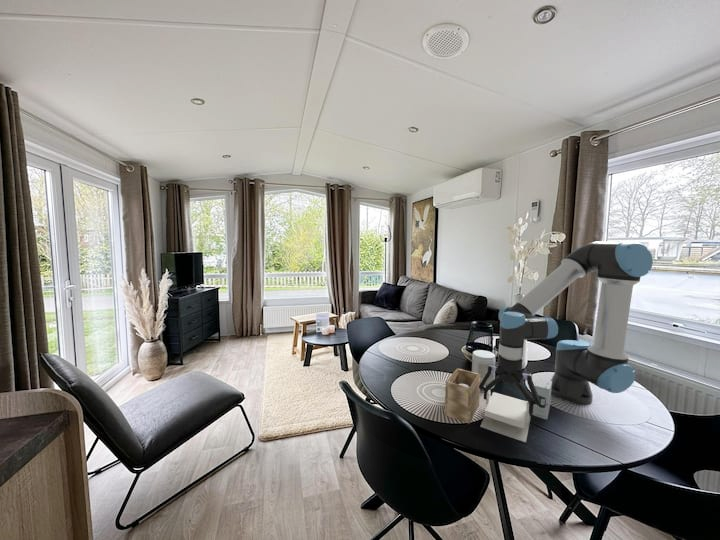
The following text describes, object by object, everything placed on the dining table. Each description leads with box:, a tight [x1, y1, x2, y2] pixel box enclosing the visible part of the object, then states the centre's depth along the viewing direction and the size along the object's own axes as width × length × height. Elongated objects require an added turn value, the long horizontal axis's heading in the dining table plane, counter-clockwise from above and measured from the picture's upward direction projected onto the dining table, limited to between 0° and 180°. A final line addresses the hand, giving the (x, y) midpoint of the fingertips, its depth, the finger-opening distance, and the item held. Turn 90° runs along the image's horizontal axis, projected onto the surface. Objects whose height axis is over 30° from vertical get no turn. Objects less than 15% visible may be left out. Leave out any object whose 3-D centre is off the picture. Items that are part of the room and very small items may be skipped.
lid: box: [484, 391, 527, 429], centre depth 104 cm, size 12×15×3 cm
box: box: [444, 368, 481, 424], centre depth 111 cm, size 9×14×13 cm, turn 145°
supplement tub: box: [471, 349, 496, 390], centre depth 130 cm, size 10×10×15 cm
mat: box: [480, 415, 532, 444], centre depth 105 cm, size 14×17×1 cm
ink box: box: [531, 377, 552, 420], centre depth 110 cm, size 9×5×12 cm, turn 141°
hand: (506, 414), depth 105 cm, fingers closed on lid, 12 cm apart
